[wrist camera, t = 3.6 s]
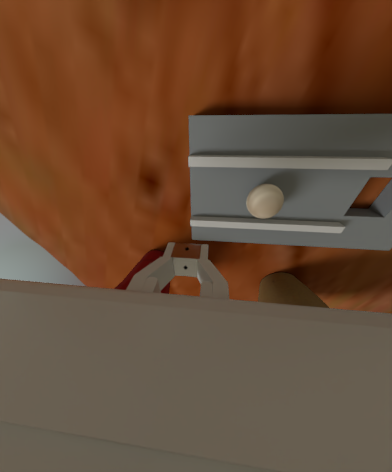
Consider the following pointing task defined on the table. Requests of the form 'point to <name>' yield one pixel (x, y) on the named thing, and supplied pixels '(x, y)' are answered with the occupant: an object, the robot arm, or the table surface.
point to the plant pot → (287, 291)
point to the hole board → (291, 178)
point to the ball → (265, 201)
